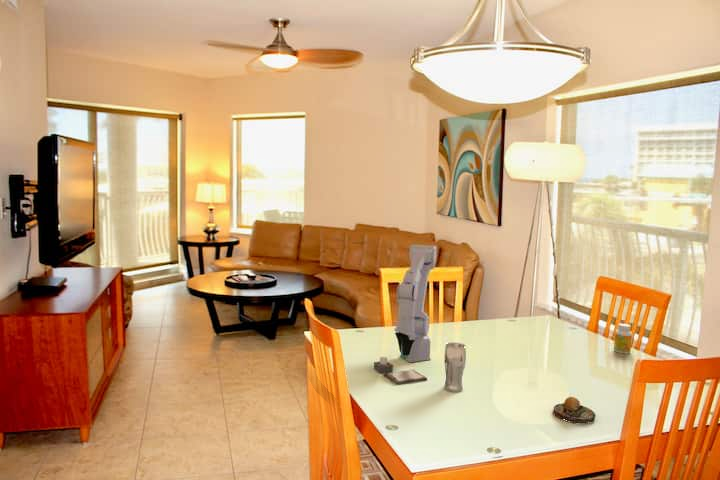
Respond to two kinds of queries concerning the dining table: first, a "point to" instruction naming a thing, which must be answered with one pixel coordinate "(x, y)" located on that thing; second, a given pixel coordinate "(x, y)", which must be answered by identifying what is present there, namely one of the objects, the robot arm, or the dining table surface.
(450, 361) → the beer glass
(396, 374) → the grey flat tray
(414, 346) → the robot arm
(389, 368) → the button box
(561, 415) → the dark base with ball
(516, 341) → the dining table surface
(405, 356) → the marker
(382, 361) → the button cap
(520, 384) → the dining table surface
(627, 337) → the supplement bottle
